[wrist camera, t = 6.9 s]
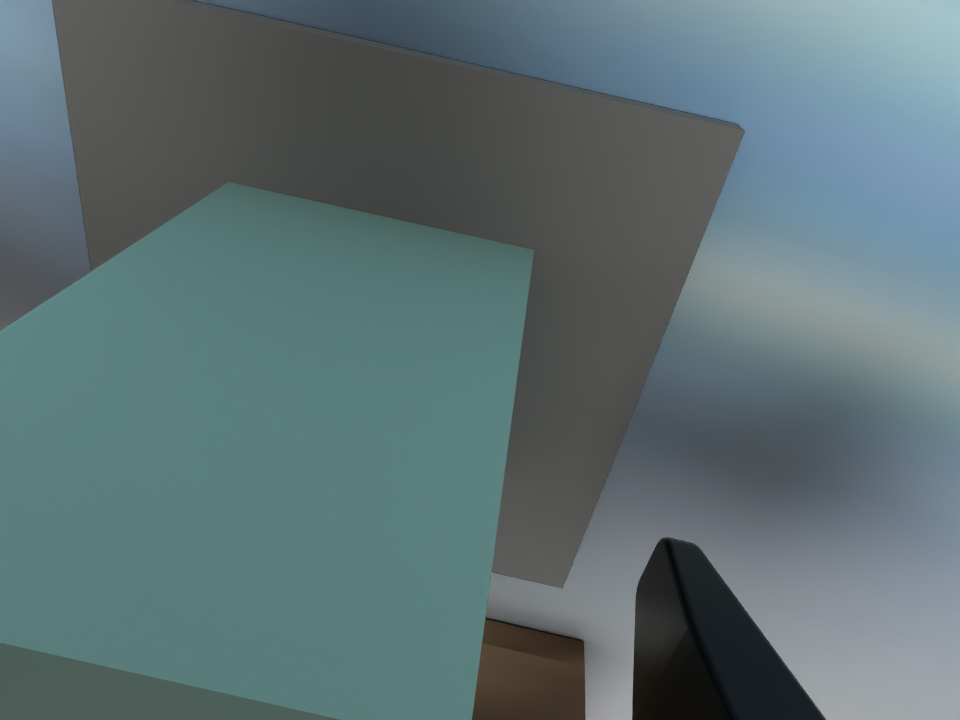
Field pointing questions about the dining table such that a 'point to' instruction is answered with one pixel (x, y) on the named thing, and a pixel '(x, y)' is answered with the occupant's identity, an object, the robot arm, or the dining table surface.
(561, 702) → the crate
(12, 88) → the dining table surface
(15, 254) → the dining table surface
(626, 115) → the mat
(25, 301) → the dining table surface
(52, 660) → the block
